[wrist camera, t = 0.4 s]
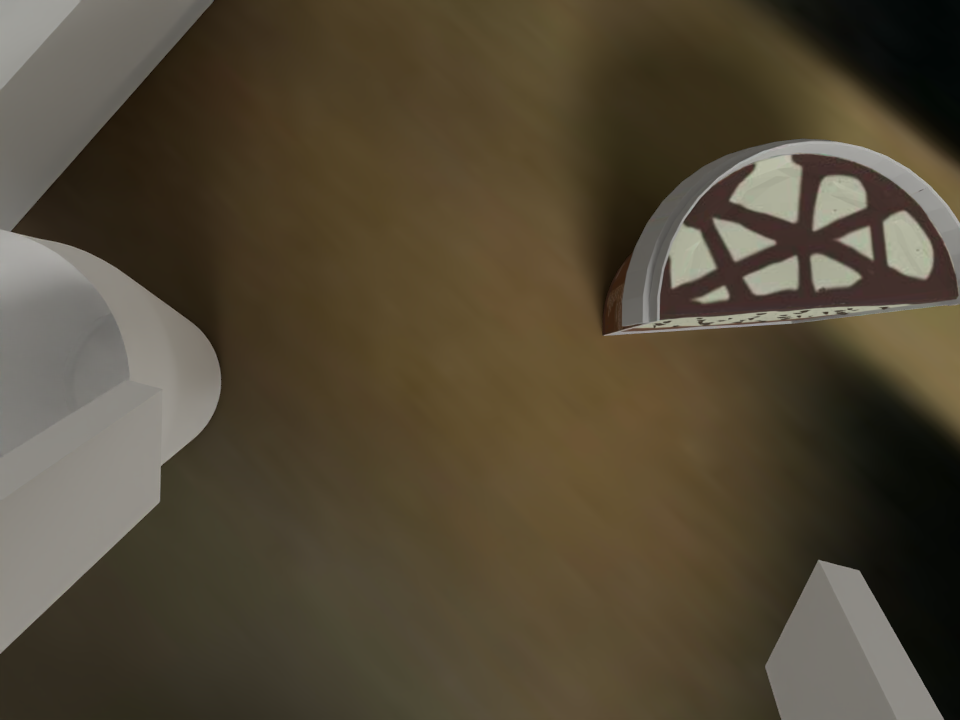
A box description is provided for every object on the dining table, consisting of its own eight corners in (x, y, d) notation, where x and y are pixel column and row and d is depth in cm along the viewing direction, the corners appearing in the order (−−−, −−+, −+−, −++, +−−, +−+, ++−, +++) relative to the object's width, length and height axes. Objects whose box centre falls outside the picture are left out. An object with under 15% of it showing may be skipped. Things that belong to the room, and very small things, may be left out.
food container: (813, 194, 33) (986, 116, 23) (823, 321, 33) (1000, 299, 23) (562, 206, 32) (627, 129, 22) (571, 337, 31) (640, 321, 22)
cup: (69, 510, 29) (-172, 604, 17) (11, 310, 29) (-270, 268, 17) (274, 450, 30) (178, 502, 18) (218, 256, 30) (84, 179, 18)
